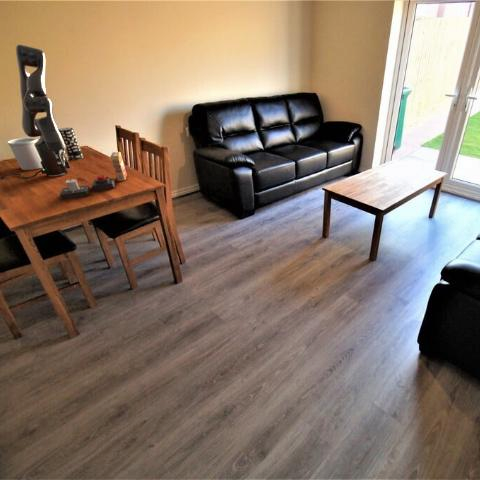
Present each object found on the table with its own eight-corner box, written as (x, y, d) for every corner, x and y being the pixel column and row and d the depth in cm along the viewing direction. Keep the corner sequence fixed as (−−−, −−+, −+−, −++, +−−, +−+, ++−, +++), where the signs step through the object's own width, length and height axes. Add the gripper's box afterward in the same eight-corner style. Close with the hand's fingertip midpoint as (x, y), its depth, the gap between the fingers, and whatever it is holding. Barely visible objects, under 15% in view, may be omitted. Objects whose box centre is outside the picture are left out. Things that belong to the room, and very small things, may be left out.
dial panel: (61, 200, 172) (59, 194, 171) (65, 193, 180) (62, 187, 178) (88, 196, 177) (86, 190, 175) (90, 189, 184) (88, 184, 183)
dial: (78, 190, 176) (75, 181, 173) (68, 191, 174) (64, 182, 171) (80, 187, 179) (76, 178, 177) (69, 188, 178) (65, 179, 175)
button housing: (94, 191, 182) (90, 183, 180) (95, 185, 189) (92, 177, 187) (114, 188, 186) (111, 180, 183) (114, 183, 193) (112, 175, 190)
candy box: (125, 180, 196) (117, 155, 188) (118, 181, 195) (109, 156, 187) (127, 175, 204) (120, 151, 195) (120, 176, 202) (112, 152, 194)
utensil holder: (46, 161, 224) (34, 136, 215) (50, 166, 215) (38, 140, 206) (19, 166, 215) (5, 140, 206) (22, 172, 206) (8, 144, 197)
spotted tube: (73, 155, 235) (62, 127, 225) (85, 155, 236) (75, 127, 225) (67, 159, 228) (55, 130, 218) (79, 159, 229) (68, 130, 218)
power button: (97, 181, 183) (96, 177, 182) (98, 178, 186) (97, 175, 185) (105, 180, 184) (104, 176, 183) (106, 177, 187) (105, 174, 186)
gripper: (47, 137, 167) (60, 167, 175) (41, 144, 156) (55, 176, 164) (64, 135, 169) (77, 165, 178) (60, 142, 158) (73, 173, 167)
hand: (66, 170), depth 171 cm, fingers open, 8 cm apart
